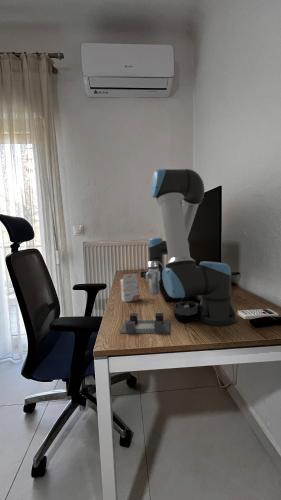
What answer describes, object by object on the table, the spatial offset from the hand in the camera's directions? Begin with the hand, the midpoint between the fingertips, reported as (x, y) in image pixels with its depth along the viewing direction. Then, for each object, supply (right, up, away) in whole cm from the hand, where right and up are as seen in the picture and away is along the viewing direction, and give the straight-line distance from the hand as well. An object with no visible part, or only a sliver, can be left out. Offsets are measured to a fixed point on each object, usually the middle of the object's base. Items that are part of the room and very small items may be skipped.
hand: (152, 277), depth 99 cm
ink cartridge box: (-11, -16, +33) cm, 38 cm away
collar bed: (-3, -18, -6) cm, 20 cm away
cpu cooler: (+14, -17, +1) cm, 22 cm away
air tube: (+1, -8, +6) cm, 10 cm away
